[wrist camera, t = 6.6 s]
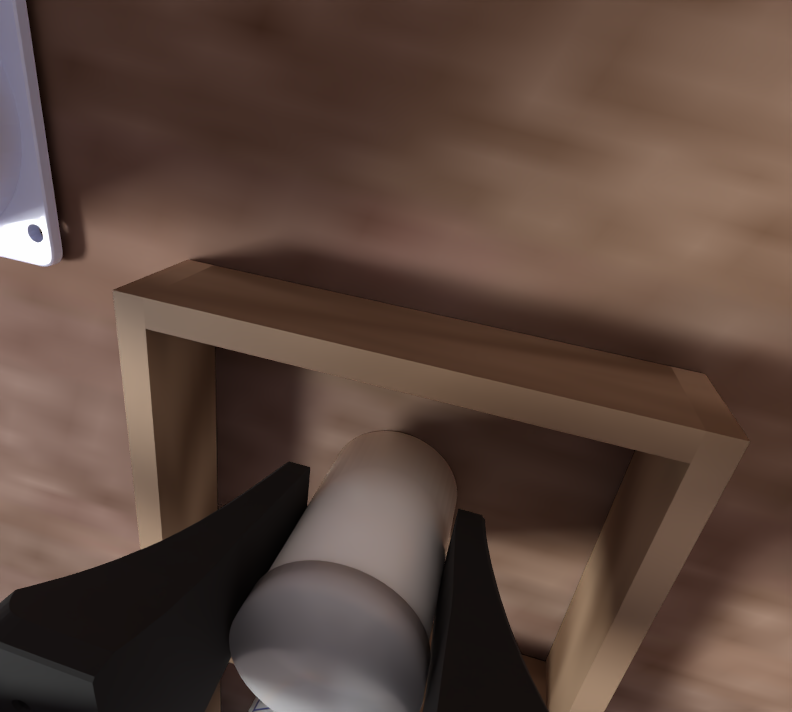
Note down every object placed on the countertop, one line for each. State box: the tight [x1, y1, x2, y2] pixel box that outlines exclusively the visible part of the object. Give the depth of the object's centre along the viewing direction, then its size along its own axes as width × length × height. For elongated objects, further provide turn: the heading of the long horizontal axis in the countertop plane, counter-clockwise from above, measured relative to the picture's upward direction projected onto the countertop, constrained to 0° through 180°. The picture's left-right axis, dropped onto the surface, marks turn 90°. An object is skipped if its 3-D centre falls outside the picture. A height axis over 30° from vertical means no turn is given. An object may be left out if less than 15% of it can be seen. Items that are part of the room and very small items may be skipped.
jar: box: [229, 431, 457, 712], centre depth 13 cm, size 4×4×6 cm
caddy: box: [113, 260, 750, 712], centre depth 18 cm, size 24×14×3 cm, turn 172°
